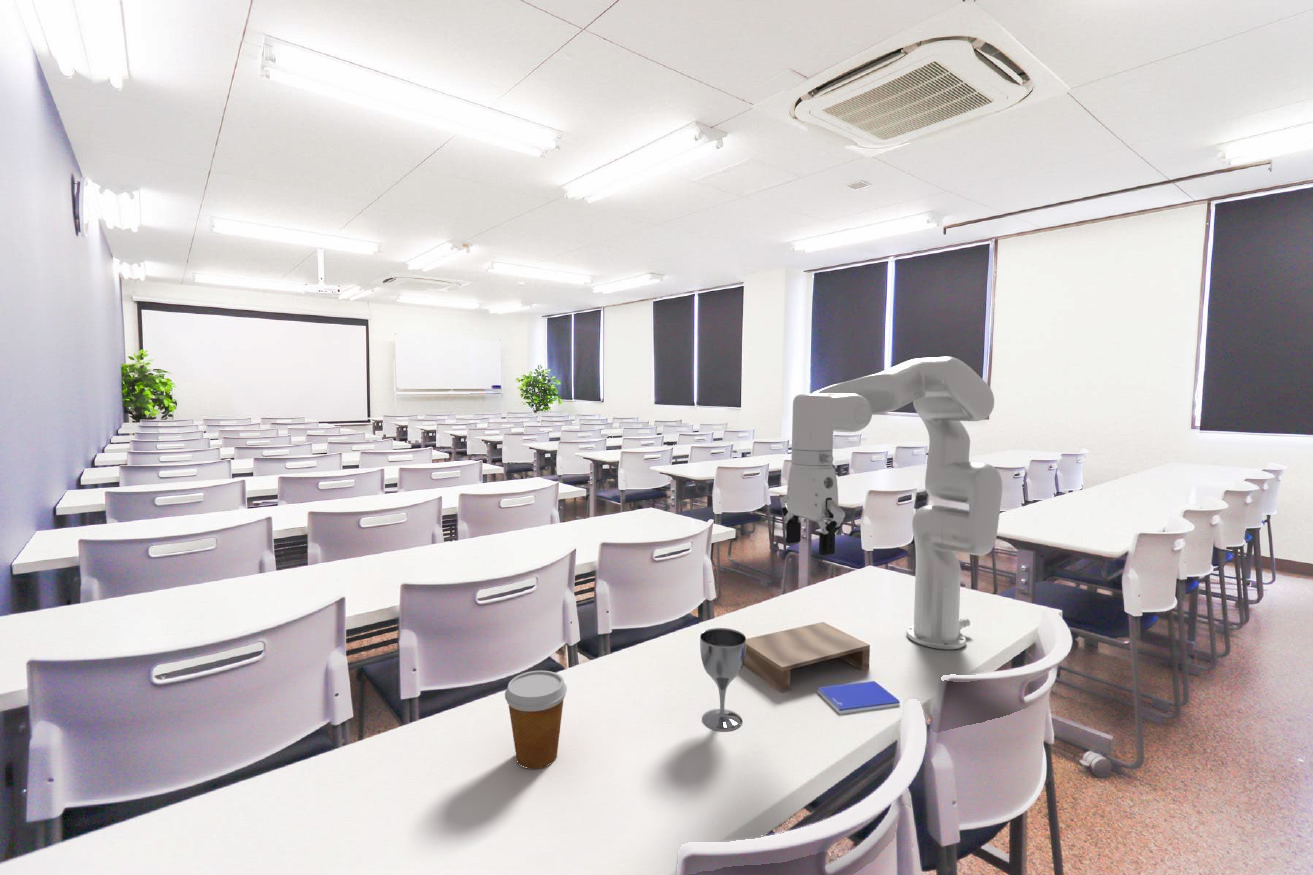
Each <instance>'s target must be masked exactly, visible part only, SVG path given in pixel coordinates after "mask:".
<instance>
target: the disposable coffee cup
mask: <svg viewBox="0 0 1313 875" xmlns="http://www.w3.org/2000/svg"><path fill="white" fill-rule="evenodd" d="M567 692H568V687H567V685H566V683H565V681H564V678H563V676H562V675H561V674H559V673H557V672H553V671H549V670H532V671H527V672H524V673H521V674H519V675H516V676H514V678H512V679H511V680H510V681H509V682H508V684H507V688H506V690H505V691H504V699H505V700H506V703H507V705H508V710H509V717H510V723H511V731H512V737H513V743H514V749H515V750H514V751H515V758H516V762H517V761H518V763H519V764H520V765H522V766H524V767H527V768H526V769H528V768H531V769H530V770H537V768H539V769H542V768H541V767H543V768H545V767H544V766H546V767H547V765H548V764H550V763H551V764H552V762H553V761H554V762H555V760H556V759H557V758H558V750H559V749H558V748H559V741H560V740H559V739H560V733H561V724H562V723H561V722H562V716H563V715H562V714H563V707H564V699H565V697H566V695H567ZM518 763H517V764H518ZM519 764H518V765H519ZM551 764H550V765H551ZM520 765H519V766H520ZM522 766H521V767H522ZM548 766H549V765H548ZM524 767H523V768H524Z"/></svg>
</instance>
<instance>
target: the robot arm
mask: <svg viewBox="0 0 1313 875" xmlns="http://www.w3.org/2000/svg"><path fill="white" fill-rule="evenodd" d="M911 403H913V408H914V411H915V412H916V413H917V415H918V416H919V417H920V419H921V420H922V422H923V423H924V424H923V425H924V426H925V428H926V430H927V432H928V436H929V437H928V439H929V442H928V454H927V463H926V469H925V479H924V480H925V481H924V486H925V492H926V493H927V494H928V496H930V497H932V498H934V499H938V500H941V501H945V502H946V501H947V502H953V503H959V504H965V505H968V509H963V508H959V507H958V508H957V507H953V506H952V507H951V506H945V505H937V504H929V505H923V506H921V507H919V508H918V509H917V510H916V511H915V513H914V515H913V517H912V524H911V525H912V534H913V538H914V544H915V546H914V548H915V578H914V581H915V582H914V602H913V603H914V605H913V606H914V608H913V624H911V625H910V626H908V627H907V628H906V636H907V638H908V639H910V640H911V641H912V642H914V643H916V644H919V645H922V646H924V647H928V648H933V649H939V650H958V649H961V648H963V647H964V646H965V645H966V644H967V641H966V640H967V638H966V637H965V635H963V633H962V632H961V630H962V629H963V628H966V627H970V625H971V622H970V619H969V618H966V617H965V618H960V606H961V605H960V604H961V603H960V602H961V577H962V576H961V575H962V568H961V564H960V561H959V557H958V556H957V554H956V552H958V553H963V554H968V555H972V556H978V557H979V556H985V555H988V554H989V553H991V551H992V550H993V549H994V548H995V547H994V546H995V544H996V542H997V535H998V529H999V522H1000V521H999V520H1000V512H1001V505H1002V504H1001V502H1002V498H1003V481H1002V480H1003V479H1002V477H1001V473H1000V472H999V470H998V469H997V468H996V467H995V466H994V465H991V464H989V463H985V462H978V461H970V447H971V438H970V436H969V433H968V431H967V429H966V427H965V426H964V425H963V423H962V422H979V421H983V420H985V419H987V418H988V417H989V416H990V415H991V413H992V412H993V411H994V408H995V395H994V393H993V391H992V388H991V387H990V386H989V384H988V383H987V382H986V381H985V379H983V378H982V377H980V376H979V374H978V373H976V372H975V370H973V368H972V367H970V366H969V365H968V364H967V363H965V362H964V361H962V360H960V359H959V358H956V357H953V356H939V357H938V356H937V357H921V358H920V357H919V358H913V359H909V360H906V361H904V362H901V363H899V364H896V365H895V366H891V367H890V368H887V369H884V370H882V371H880V372H877V373H874V374H868V375H866V376H862V377H858V378H855V379H850V380H847V381H844V382H839V383H835V384H832V385H829V386H826V387H824V388H821V389H818V390H816V391H813V392H812V393H801V394H796V396H795V397H794V398H793V400H792V417H791V418H792V420H791V421H792V422H791V423H792V424H791V425H792V426H791V429H792V430H791V460H790V461H791V462H790V468H789V472H788V479H787V480H788V481H787V487H786V489H787V490H786V495H784V496H781V497H780V499H779V501H780V502H779V503H780V506H781V512H782V514H783V516H784V520H783V521H784V523H785V528H786V529H785V543H787V544H795V543H800V542H801V540H802V539H801V538H802V537H801V535H802V532H801V530H802V522H801V521H800V519H805V520H809V521H813V522H816V523H817V524H818V527H819V529H820V531H821V532H820V533H819V538H818V540H819V541H818V542H819V543H818V554H819V555H820V556H829V555H834V554H835V551H836V534H837V533H838V532H839V529H840V528H841V527H842V526H843V521H844V519H845V517H846V513H845V511H844V510H843V509H842V507H840V506H839V488H838V478H837V473H836V469H835V467H833V461H834V455H833V451H834V450H833V449H834V446H833V445H834V432H837V433H838V432H839V433H856V432H859V431H862V430H864V429H865V428H866V427H867V426H868V425H869V424H870V422H871V420H872V418H873V415H879V414H885V413H890V412H894V411H896V410H899V409H900V408H902V407H904V406H906V405H908V404H911ZM826 523H827V524H826Z"/></svg>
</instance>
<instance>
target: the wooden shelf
mask: <svg viewBox="0 0 1313 875" xmlns="http://www.w3.org/2000/svg"><path fill="white" fill-rule="evenodd" d="M870 652H871V645H870V644H869V643H866V641H865V642H864V641H862V640H860V639H859V638H857V637H855V636H852V635H850V634H849V633H846V632H844V631H842V630H840V629H838V628H836V627H834V626H832V625H831V624H828V623H826V622H824V621H822V622H817V623H811V624H808V625H804V626H799V627H793V628H789V629H786V630H780V631H777V632H771V633H767V634H763V635H759V636H754V637H749V638H746V653H745V659H744V664H743V667H745V668H747V669H748V670H749V671H751V672H752V673H753V674H755V675H756V676H758V677H760V679H762V680H764V681H765V682H766V683H767V684H769V685H770V686H772V687H773V688H775V689H776V690H777V691H779V692H781V693H784V692H789V691H790V690H791V670H792V669H796V668H800V667H804V666H805V667H806V666H808V665H812V664H816V663H821V662H824V661H827V660H832V659H834V658H839V659H841V660H843V661H845V662H847V663H849V664H850V665H852V666H854V667H856V668H857V669H860V670H861V671H864V670H867V669H870V657H871V655H870Z"/></svg>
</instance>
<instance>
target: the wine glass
mask: <svg viewBox="0 0 1313 875" xmlns="http://www.w3.org/2000/svg"><path fill="white" fill-rule="evenodd" d="M746 639H747V638H746V635H745V634H744V633H743V632H740V631H738V630H736V629H732V628H726V627H716V628H715V627H714V628H710V629H706V630H704V631H702V632H701V633H700V637H699V645H700V646H699V648H700V657H701V658H700V659H701V661H702V665H703V668H704V670H705V672H706V674H707V675H708V676H709V677H710V678H711V679H712V680H713V682H714V683H715V685H716V686H717V689H718V694H719V695H718V696H719V708H714V709H710V710H708V711H706V712H705V713H703V715H702V717H701V721H702V723H703V724H704V726H706V727H707V728H709V729H711V730H713V731H717V732H732V731H733V732H734V731H736V730H737V729H739V728H740V727H741V726H742V725H743V718H742V717H741V715H740V714H739V713H737V712H735V711H733V710H730V709H727V708H725V705H726V704H725V703H726V702H725V701H726V693H727V690H728V686H729V685H730V684H731V683H732V681H733V680H734V679H736V678H737V677H738V676H739V675H740V673H741V672H742V669H743V667H744V665H743V664H744V659H745V653H746Z"/></svg>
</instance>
